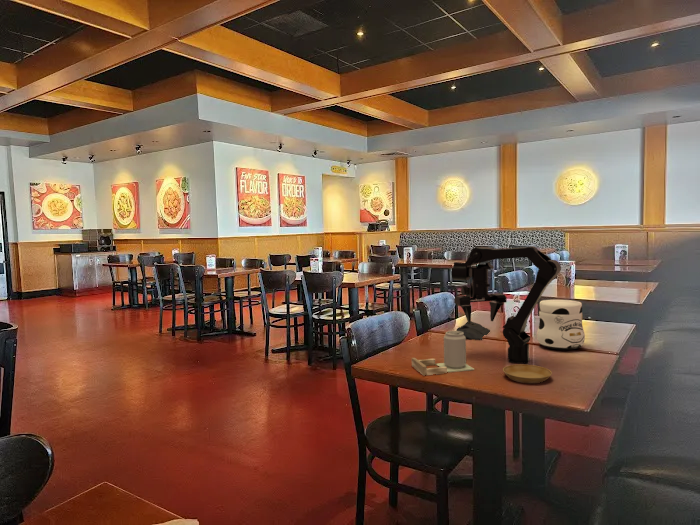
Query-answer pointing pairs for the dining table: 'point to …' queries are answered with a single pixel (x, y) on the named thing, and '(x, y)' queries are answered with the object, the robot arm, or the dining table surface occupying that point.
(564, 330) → the milk container
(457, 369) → the mat
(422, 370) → the shelf lane
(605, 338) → the dining table surface
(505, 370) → the plant saucer
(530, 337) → the robot arm
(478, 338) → the dark slate chunk
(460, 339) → the can
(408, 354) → the dining table surface
